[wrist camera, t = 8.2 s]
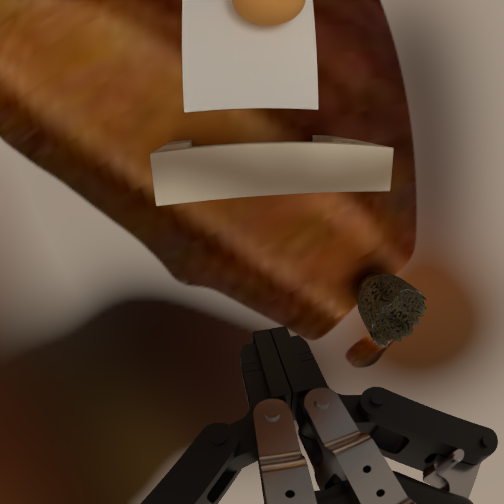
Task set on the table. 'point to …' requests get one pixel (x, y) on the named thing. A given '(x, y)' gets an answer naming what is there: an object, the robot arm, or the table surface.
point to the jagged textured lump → (389, 307)
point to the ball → (269, 10)
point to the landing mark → (246, 59)
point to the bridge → (268, 169)
